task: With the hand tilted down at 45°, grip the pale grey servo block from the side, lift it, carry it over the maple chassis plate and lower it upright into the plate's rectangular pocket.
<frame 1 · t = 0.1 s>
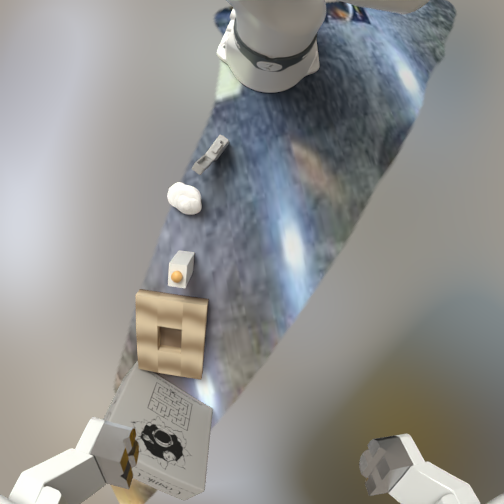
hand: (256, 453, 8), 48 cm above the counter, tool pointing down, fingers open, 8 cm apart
lighter: (214, 155, 52), on the counter
cereal box: (168, 393, 65), on the counter
servo: (185, 261, 56), on the counter
chassis: (172, 333, 60), on the counter
dumpling: (186, 197, 54), on the counter
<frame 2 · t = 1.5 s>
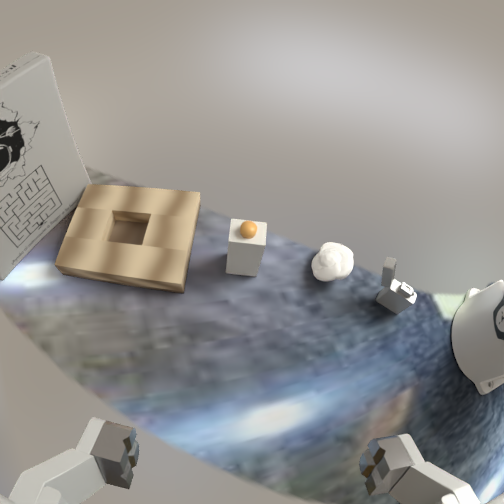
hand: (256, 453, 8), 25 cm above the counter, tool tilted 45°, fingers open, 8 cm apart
lighter: (380, 298, 40), on the counter
cereal box: (38, 223, 40), on the counter
servo: (242, 264, 40), on the counter
chassis: (130, 238, 40), on the counter
dumpling: (327, 268, 42), on the counter
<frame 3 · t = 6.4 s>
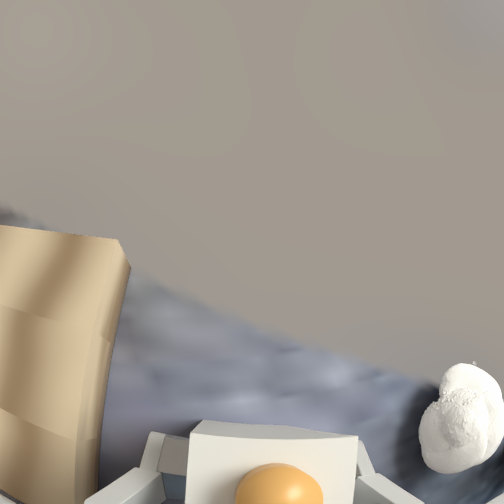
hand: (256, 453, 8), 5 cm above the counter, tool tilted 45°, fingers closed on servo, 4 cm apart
servo: (242, 452, 12), on the counter, touching gripper
dumpling: (440, 418, 14), on the counter
when the fingers open (7 cm above the counter, at t = 12.1 s): servo drops 1 cm, resting on chassis.
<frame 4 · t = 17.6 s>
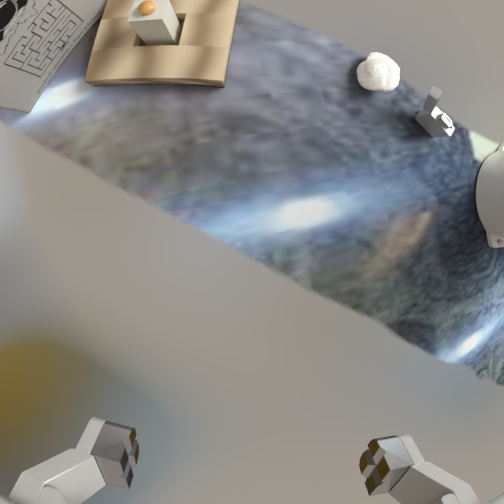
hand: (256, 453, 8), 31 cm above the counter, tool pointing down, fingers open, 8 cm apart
lighter: (419, 117, 35), on the counter
cereal box: (58, 45, 30), on the counter
servo: (164, 36, 30), point 1 cm above the counter, touching chassis
chassis: (164, 38, 31), on the counter
dumpling: (372, 76, 33), on the counter
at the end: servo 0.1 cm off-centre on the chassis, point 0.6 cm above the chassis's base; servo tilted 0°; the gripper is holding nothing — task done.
